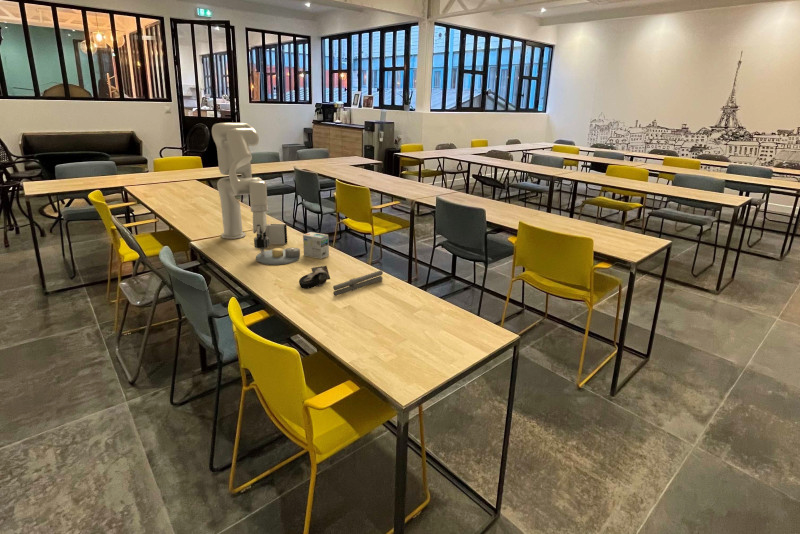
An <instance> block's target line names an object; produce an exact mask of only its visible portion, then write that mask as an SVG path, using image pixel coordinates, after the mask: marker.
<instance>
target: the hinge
mask: <svg viewBox="0 0 800 534" xmlns="http://www.w3.org/2000/svg"><path fill="white" fill-rule="evenodd" d="M287 231H288V229H287V224H286V223H267V228H266V237H269V242H270V245H287V244H288V232H287Z"/></svg>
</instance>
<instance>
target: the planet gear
mask: <svg viewBox="0 0 800 534" xmlns="http://www.w3.org/2000/svg"><path fill="white" fill-rule="evenodd" d="M261 237H262V236H261ZM263 239H264V247H263V248H264V249H268V248H270V247H271V246H270V245H271V244H270V242H269V237H266V236H265V237H264V236H263ZM253 242H254V243H253V244H254V245H253V246H254V248H255V249H258V250H260V249H262V248H258V247H257V236H255V237H253Z"/></svg>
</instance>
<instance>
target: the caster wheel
mask: <svg viewBox="0 0 800 534" xmlns="http://www.w3.org/2000/svg"><path fill="white" fill-rule="evenodd" d="M310 269H311V271H312V272H310V273H308V274H306V275H305V274H304V275H303V276H301V277H300V278H299V280H298V283H299V286H300V288H302V289H304V290H309V289H314V288H320V287H323V286H324V285H326V282H327V281H328V280H331V277H330V273H329V270H328V269H329V268H328V266H327V265H320V266H314V267H311V268H310Z"/></svg>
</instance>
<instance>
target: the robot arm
mask: <svg viewBox="0 0 800 534" xmlns="http://www.w3.org/2000/svg"><path fill="white" fill-rule="evenodd" d="M211 136H212V139H213V142H214V143H215V147H216V151H217V152H216V153H217V161H218V162H217V163H218V164H217V165H218V170H219V173H220V174H221V175H223V176H227V177H221V178H220V179H218V180H217V182H216V183H217V185H216V187H217V191H218V195H219V200H220V206H221V207H220V208H221V216H222V217H221V218H222V226H223V232H222V233H221V234H220V237H221V238H223V239H226V240H236V239H241V238H244V237H246V234H247V233H246V232H245V231H243V223H242V222H243V221H242V209H241V203H240V202H239V200H238V199H237V198H236V196H243V195H244V196H245V195H247V196H248V195H249V201H250V213H252V233H253V234H256V237H257V247H258V248H259V249H260V248H263V247H264V239H263V236H264V237H265V236H266V228H267V224H268V223H267V212H268V211H269V208H268V207H269V206H268V191H267V190H268V189H267V183H266V180H263V179H262V178H260V177H257V176H255V177H253V176H252V175H253V174H252V165H251V164H252V163H251V161H252V159H253V156H252V155H253V154H252V153H251V150H250V147H256V146H257V145H258V144H259V135H258V132H257V131H256V129H255V128H254V127H253V126H251V125H250V124H248V123H246V122H219V123H214V124H213V125H212V127H211ZM238 175H239V176H238ZM240 175H241V176H240ZM261 236H262V237H261ZM258 248H257V249H258Z"/></svg>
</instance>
